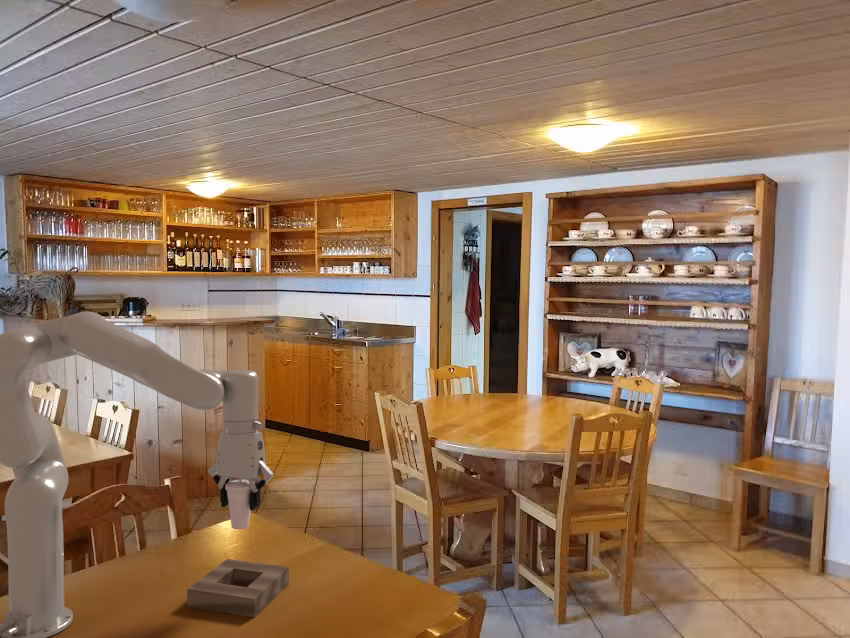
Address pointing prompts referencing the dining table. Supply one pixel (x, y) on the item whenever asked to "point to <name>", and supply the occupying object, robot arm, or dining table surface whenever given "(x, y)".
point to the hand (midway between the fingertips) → (240, 505)
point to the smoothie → (239, 503)
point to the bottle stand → (238, 587)
